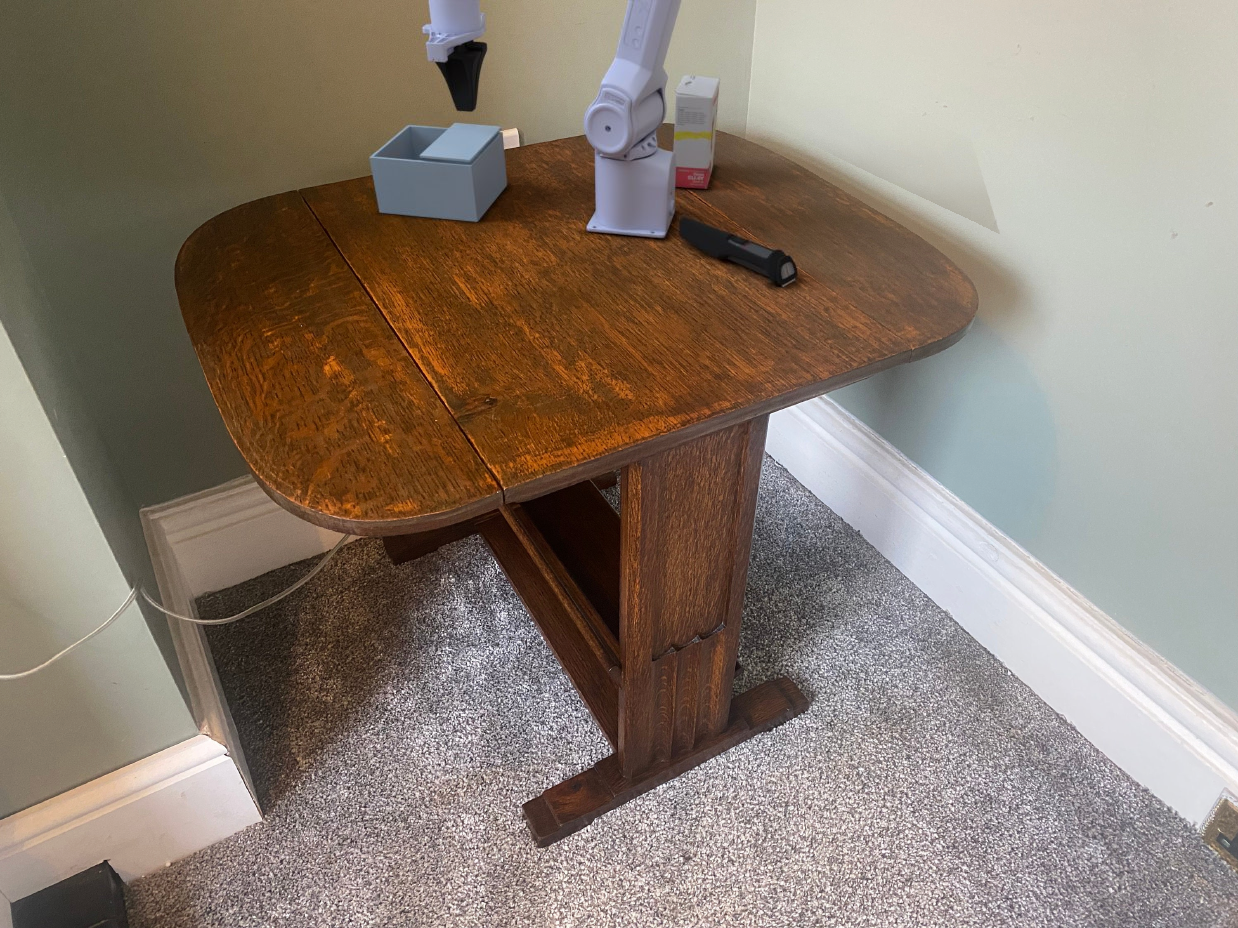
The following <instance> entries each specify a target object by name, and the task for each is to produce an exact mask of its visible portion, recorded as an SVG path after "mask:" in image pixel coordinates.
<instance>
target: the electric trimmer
mask: <svg viewBox="0 0 1238 928" xmlns="http://www.w3.org/2000/svg"><path fill="white" fill-rule="evenodd" d="M678 234H679V237H680V238H681V239H682V240H684V241H686V242H687V243H689V244H691V245H692V246H694V247H696V248H697V249H699V250H701V251H703V252H704V253H706V254H708V255H709V256H712V257H713V258H715V259H717V260H730V261H731V262H734V263H736V264H739V265H741V266H743V267H746V268H747V269H750V270H752V271H755V272H757V273H759V274H761V275H764V276H765V277H768V278H769V280H770V282H771V284H772V285H773V286H779V285H781V287H782V288H784V287H786V286H787V285H789V284H791V283H792V282H795V281H796V278H797V277H798V274H799V273H798V268H797V265H796V262H795V261H794V259H793V257H792V256H791V255H788V254H786V253H785V252H784V251H783V250H782V249H779V248H778V249H773V248H770V247H767V246H764V245H762V244H760V243H757V242H754V241H751V240H749V239H747V238H743V237H741V236H739V235H735V234H734V233H731V232H728V231H725V230H722V229H720V228H717V227H715V226H712V225H709V224H707V223H703V222H700V221H698V220H695V219H693V218H690V217H687V216H682V217H681V218H680V219H679V223H678Z"/></svg>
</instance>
